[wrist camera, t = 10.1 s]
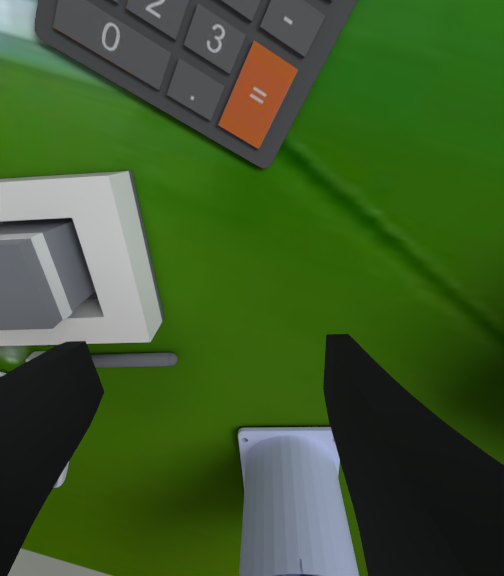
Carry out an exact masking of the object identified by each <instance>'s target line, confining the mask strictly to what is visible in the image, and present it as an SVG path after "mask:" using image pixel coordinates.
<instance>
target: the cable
mask: <svg viewBox="0 0 504 576" xmlns="http://www.w3.org/2000/svg"><path fill="white" fill-rule="evenodd" d="M44 352H46V351H34V352H33V353H32V354H31V355H30V356H29V357H28V358H27V359H26V362H28V361H30V360H31V359H33V358H35V357H37V356H39V355H41V354H42V353H44ZM90 355H91V357H92V360H93V363H94V365H95V368H102V367H150V366H173V365H175V364H176V362H177V356H176V354H174V353H171V352H170V353H128V354H90Z"/></svg>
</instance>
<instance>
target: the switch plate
mask: <svg viewBox="0 0 504 576" xmlns="http://www.w3.org/2000/svg"><path fill="white" fill-rule="evenodd" d="M56 218H72V219H73V222H74V225H75V228H76V231H77V234H78V238H79V241H80V244H81V247H82V250H83V253H84V256H85V259H86V262H87V266H88V269H89V272H90V275H91V278H92V281H93V284H94V287H95V290H96V291H95V292H94V293H92V294H91V295H90V296H89V297H88V298H87V299H86V300H85V301H83V302H82V303H81V304H80V305H79V306H78V307H77V308H76V309H74V310H73V311H72V314H71V315H70V316H69V317H68V318H67V319H65V320H64V321H61V322H60V323H59V324H58V325H56V326H55V327H54V328H53V329H29V330H0V346H22V345H60V344H62V343H64V342H70V341H86V344H99V343H137V342H151V340H152V339H153V337H154V335H155V333H156V332H157V330H158V328H159V326H160V325H161V323H162V321H163V319H164V315H163V310H162V306H161V301H160V297H159V292H158V288H157V283H156V279H155V274H154V269H153V265H152V260H151V256H150V251H149V247H148V242H147V238H146V233H145V229H144V224H143V220H142V215H141V210H140V206H139V201H138V197H137V192H136V188H135V183H134V179H133V174H132V170H127V171H111V172H95V173H79V174H63V175H47V176H31V177H16V178H0V224H3V223H6V222H9V221H19V220H37V219H56Z"/></svg>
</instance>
